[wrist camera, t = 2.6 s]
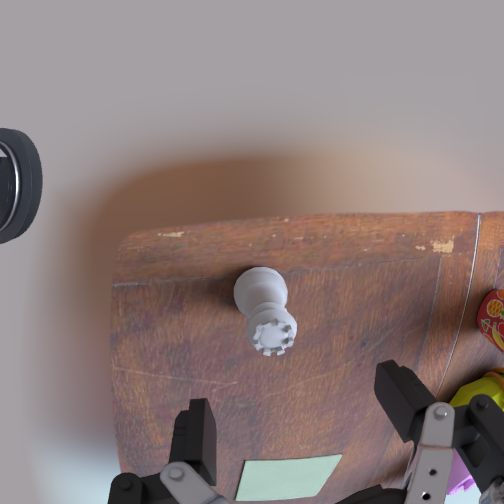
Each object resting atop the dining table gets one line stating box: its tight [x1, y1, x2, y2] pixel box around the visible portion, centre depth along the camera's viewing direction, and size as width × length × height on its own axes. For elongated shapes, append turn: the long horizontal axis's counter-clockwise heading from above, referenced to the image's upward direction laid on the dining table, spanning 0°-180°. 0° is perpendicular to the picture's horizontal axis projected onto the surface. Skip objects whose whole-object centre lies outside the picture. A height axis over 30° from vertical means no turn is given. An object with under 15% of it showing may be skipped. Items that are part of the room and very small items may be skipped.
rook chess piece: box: [234, 267, 297, 356], centre depth 21 cm, size 4×4×8 cm
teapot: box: [446, 448, 476, 495], centre depth 32 cm, size 20×14×12 cm
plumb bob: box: [449, 367, 504, 412], centre depth 29 cm, size 9×9×25 cm
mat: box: [235, 454, 343, 501], centre depth 34 cm, size 14×14×1 cm
